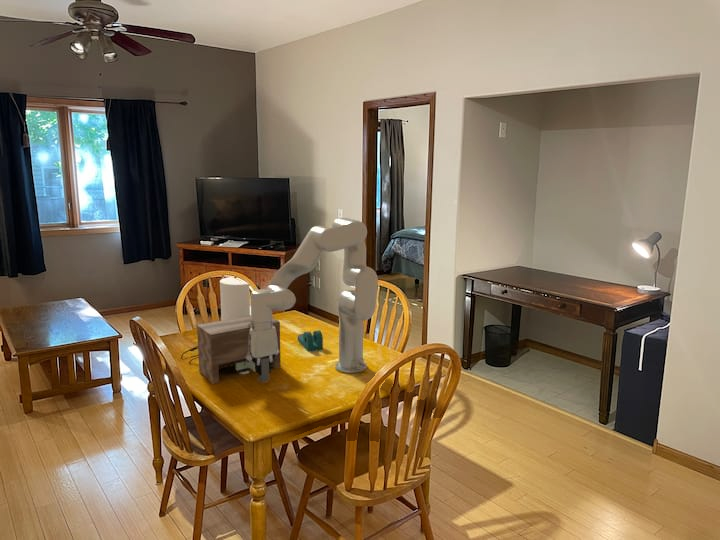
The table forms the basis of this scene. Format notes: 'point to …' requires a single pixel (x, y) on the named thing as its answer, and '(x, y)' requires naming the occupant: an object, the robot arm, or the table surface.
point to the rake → (249, 364)
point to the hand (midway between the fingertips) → (263, 372)
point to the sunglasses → (191, 350)
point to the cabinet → (226, 345)
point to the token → (243, 371)
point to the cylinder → (234, 298)
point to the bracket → (311, 340)
